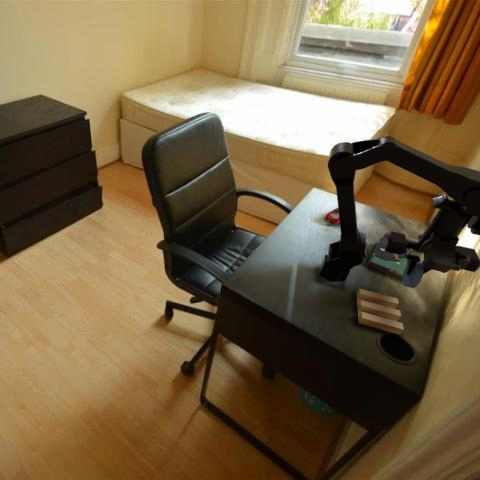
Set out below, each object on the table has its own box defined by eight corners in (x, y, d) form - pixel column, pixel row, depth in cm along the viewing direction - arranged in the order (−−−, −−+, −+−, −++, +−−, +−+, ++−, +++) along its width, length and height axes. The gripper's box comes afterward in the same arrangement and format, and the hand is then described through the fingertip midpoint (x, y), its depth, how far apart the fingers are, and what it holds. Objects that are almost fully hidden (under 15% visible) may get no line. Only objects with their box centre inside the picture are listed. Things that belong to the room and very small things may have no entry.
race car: (343, 209, 123) (347, 200, 121) (357, 216, 119) (361, 207, 117) (320, 219, 118) (324, 210, 115) (334, 227, 114) (338, 218, 111)
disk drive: (376, 243, 108) (365, 267, 99) (380, 236, 106) (369, 260, 97) (413, 257, 103) (405, 283, 94) (417, 250, 101) (409, 276, 92)
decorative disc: (412, 252, 104) (413, 250, 103) (397, 240, 109) (398, 237, 108) (430, 250, 105) (431, 248, 104) (414, 238, 110) (416, 235, 109)
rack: (357, 325, 83) (362, 317, 81) (355, 295, 90) (359, 288, 88) (398, 337, 80) (404, 329, 78) (392, 305, 87) (397, 298, 86)
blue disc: (400, 273, 89) (413, 254, 85) (407, 275, 89) (420, 256, 84) (404, 291, 84) (418, 272, 80) (411, 293, 84) (426, 274, 79)
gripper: (404, 236, 72) (373, 286, 81) (510, 259, 66) (463, 309, 76) (397, 210, 80) (370, 258, 90) (491, 228, 74) (451, 277, 84)
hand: (411, 275), depth 85 cm, fingers closed on blue disc, 2 cm apart
